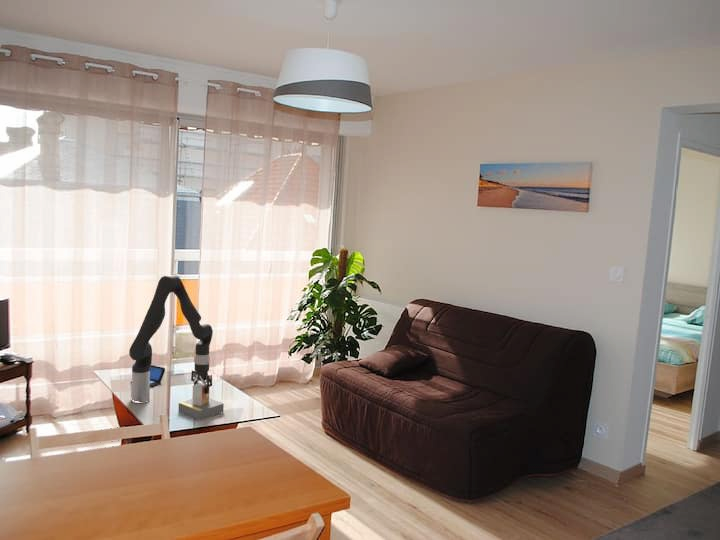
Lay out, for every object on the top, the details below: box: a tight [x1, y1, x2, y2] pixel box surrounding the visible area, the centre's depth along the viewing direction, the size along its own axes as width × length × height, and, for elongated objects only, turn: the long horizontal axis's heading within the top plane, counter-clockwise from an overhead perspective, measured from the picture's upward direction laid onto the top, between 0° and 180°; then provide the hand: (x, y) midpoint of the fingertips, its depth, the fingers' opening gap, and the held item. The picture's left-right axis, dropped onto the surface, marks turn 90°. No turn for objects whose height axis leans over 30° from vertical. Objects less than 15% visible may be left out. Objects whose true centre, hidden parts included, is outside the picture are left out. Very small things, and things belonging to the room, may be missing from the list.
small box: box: [192, 381, 210, 406], centre depth 322 cm, size 8×6×10 cm
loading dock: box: [178, 397, 225, 421], centre depth 323 cm, size 17×16×5 cm
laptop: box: [150, 364, 166, 388], centre depth 364 cm, size 16×13×9 cm
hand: (201, 391), depth 321 cm, fingers open, 8 cm apart
